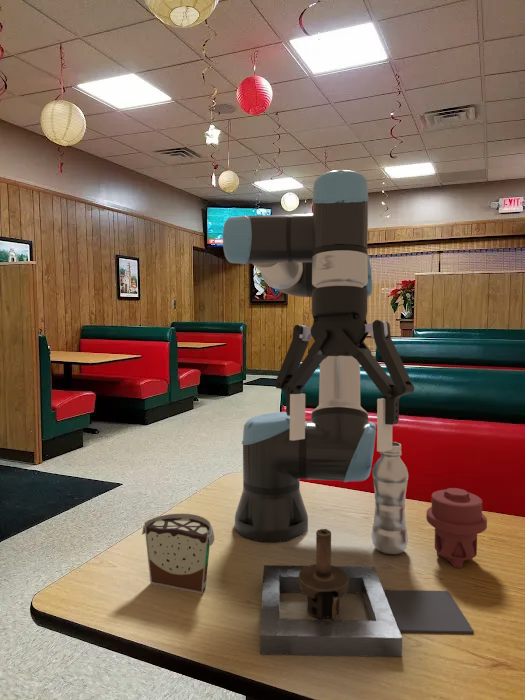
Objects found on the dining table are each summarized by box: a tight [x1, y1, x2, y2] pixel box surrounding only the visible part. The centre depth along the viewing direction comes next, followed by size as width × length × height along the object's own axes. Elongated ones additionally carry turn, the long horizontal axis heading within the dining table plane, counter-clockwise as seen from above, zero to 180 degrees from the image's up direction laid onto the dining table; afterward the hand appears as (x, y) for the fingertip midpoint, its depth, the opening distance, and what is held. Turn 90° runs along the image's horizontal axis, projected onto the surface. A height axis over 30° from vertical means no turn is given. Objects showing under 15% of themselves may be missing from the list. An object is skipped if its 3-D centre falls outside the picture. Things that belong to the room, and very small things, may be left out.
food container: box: [141, 513, 215, 595], centre depth 81 cm, size 12×6×10 cm, turn 71°
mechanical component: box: [426, 487, 488, 569], centre depth 87 cm, size 12×10×10 cm
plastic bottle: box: [371, 441, 409, 555], centre depth 90 cm, size 6×7×20 cm
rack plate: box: [259, 564, 403, 658], centre depth 71 cm, size 18×18×2 cm
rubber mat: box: [383, 589, 475, 634], centre depth 72 cm, size 10×10×1 cm
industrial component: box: [299, 528, 349, 620], centre depth 71 cm, size 9×7×12 cm
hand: (338, 444), depth 66 cm, fingers open, 13 cm apart
